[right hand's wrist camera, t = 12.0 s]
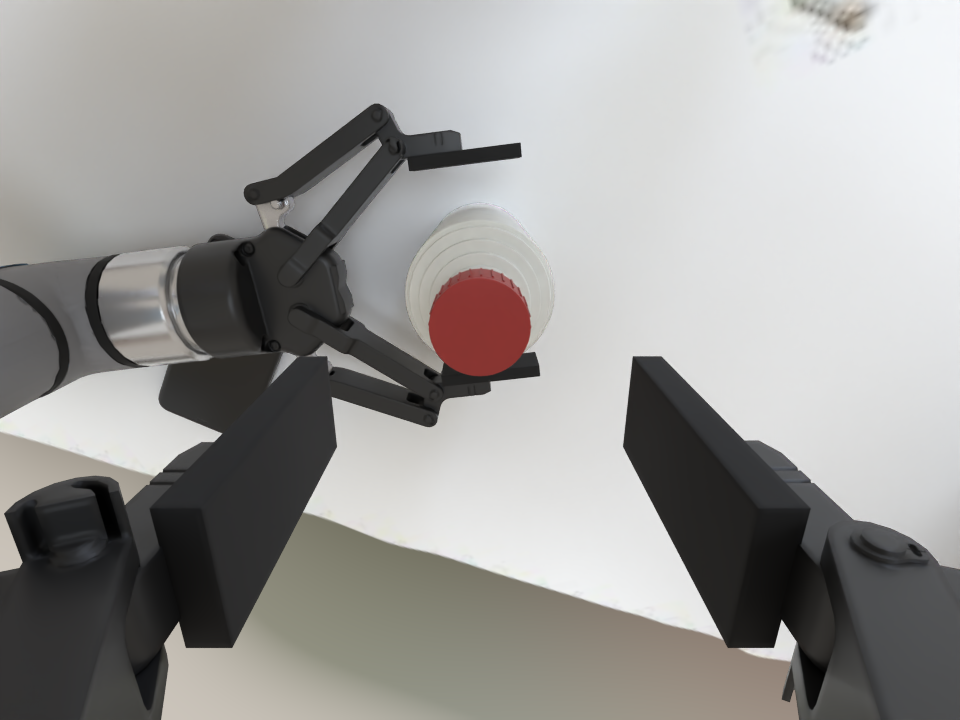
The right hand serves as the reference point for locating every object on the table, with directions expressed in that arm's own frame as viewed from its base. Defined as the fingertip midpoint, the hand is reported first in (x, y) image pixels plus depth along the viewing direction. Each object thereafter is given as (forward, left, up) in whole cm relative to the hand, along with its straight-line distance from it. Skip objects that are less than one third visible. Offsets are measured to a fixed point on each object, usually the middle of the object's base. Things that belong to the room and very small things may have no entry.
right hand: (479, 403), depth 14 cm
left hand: (0, -3, -20) cm, 20 cm away
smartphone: (-8, +20, -27) cm, 34 cm away
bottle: (0, 0, -27) cm, 27 cm away
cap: (0, 0, -7) cm, 7 cm away
